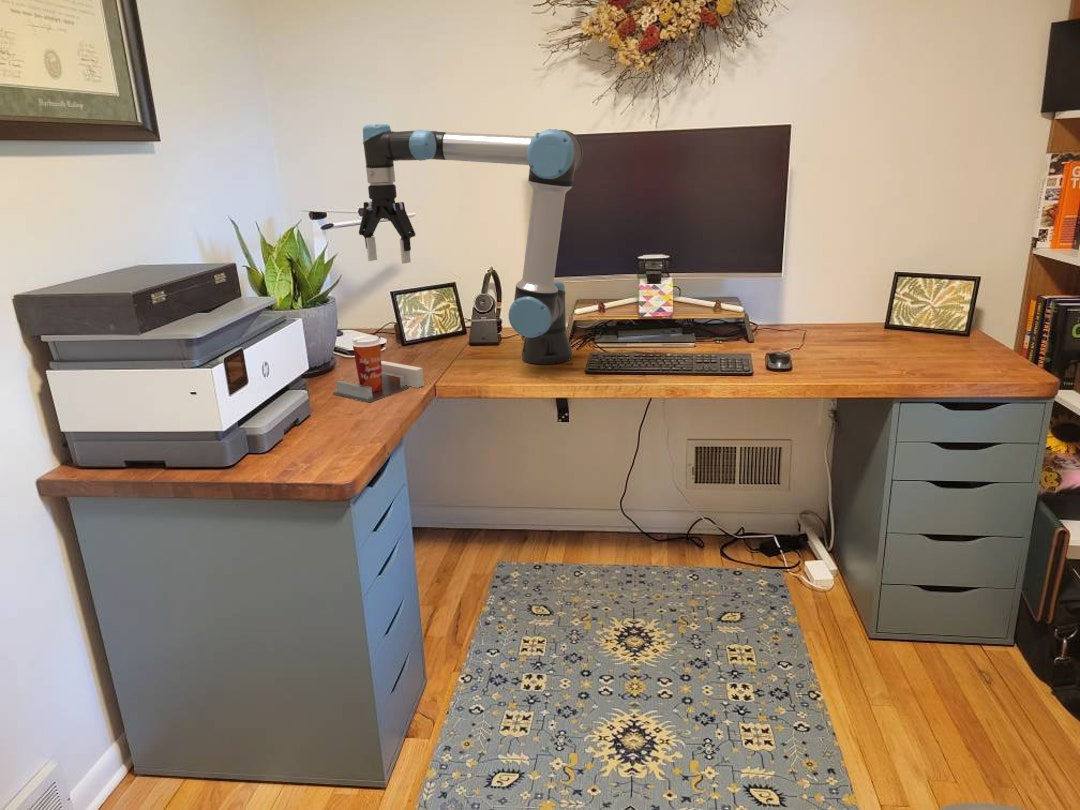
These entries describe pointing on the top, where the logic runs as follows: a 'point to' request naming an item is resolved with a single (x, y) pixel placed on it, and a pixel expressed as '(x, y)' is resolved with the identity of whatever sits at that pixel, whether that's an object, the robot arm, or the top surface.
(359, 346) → the paper cup
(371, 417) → the top surface
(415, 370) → the board
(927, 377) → the top surface
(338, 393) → the bracket
